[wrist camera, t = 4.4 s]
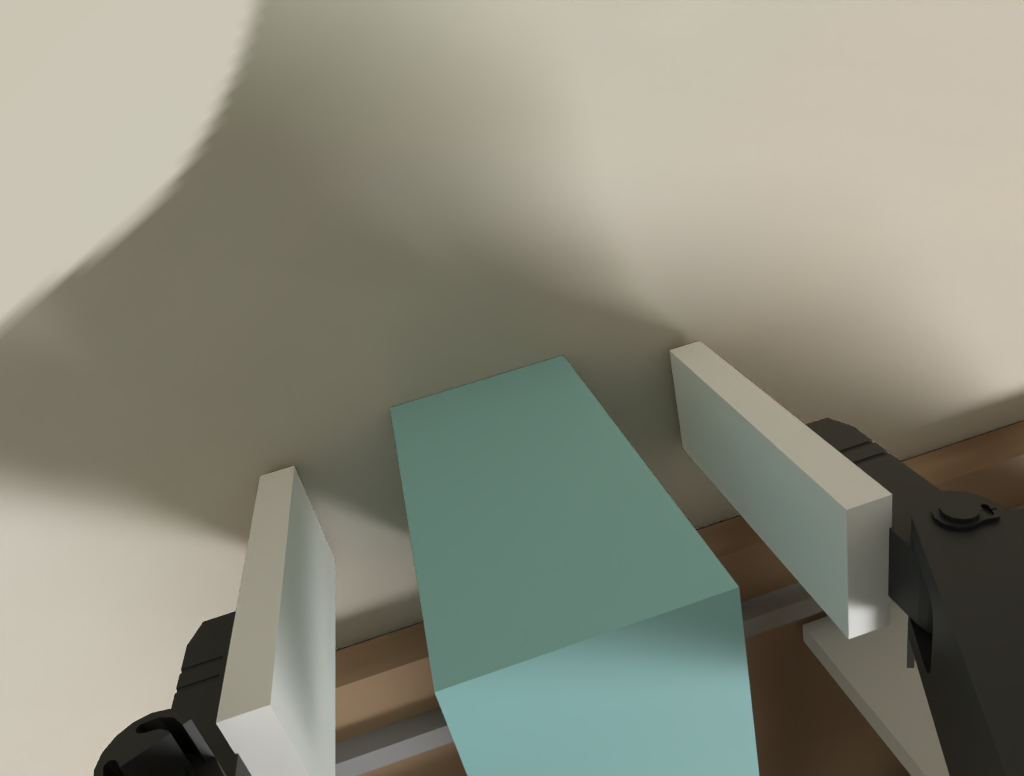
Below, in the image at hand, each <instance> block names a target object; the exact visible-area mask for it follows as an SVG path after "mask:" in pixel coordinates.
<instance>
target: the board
mask: <svg viewBox="0 0 1024 776" xmlns="http://www.w3.org/2000/svg"><path fill="white" fill-rule="evenodd" d="M902 463H904V464H905V465H906V466H908V467H909V468H911V469H912V470H913V471H915V472H916V473H917V474H919V475H920V476H922V477H923V478H924V479H926V480H927V481H928V482H930V483H931V484H933V485H934V486H935V487H937V488H938V489H939V490H941V491H947V490H949V491H964V492H969V493H973V494H976V495H980V496H983V497H985V498H987V499H989V500H991V501H993V502H994V503H996V504H998V505H999V506H1000V507H1001V508H1002V509H1003V510H1017V509H1024V421H1022V422H1019V423H1016V424H1013V425H1010V426H1007V427H1004V428H1001V429H998V430H995V431H992V432H989V433H986V434H983V435H980V436H977V437H974V438H971V439H968V440H965V441H962V442H959V443H956V444H953V445H950V446H947V447H944V448H941V449H938V450H935V451H932V452H929V453H926V454H923V455H920V456H917V457H914V458H911V459H908V460H905V461H902ZM696 531H697V532H698V534H699V535H700V536H701V537H702V539H703V540H704V541H705V543H706V544H707V545H708V547H709V548H710V549H711V551H712V552H713V553H714V555H715V556H716V557H717V559H718V560H719V561H720V563H721V564H722V565H723V566H724V568H725V569H726V570H727V572H728V573H729V574H730V576H731V577H732V578H733V580H734V581H735V582H736V584H737V585H738V586H739V591H740V600H741V610H742V619H743V628H744V637H745V647H746V656H747V665H748V675H749V684H750V693H751V702H752V712H753V721H754V730H755V740H756V749H757V758H758V767H759V776H911V775H910V774H909V772H908V771H907V770H906V769H905V767H904V766H903V765H902V764H901V762H900V761H899V760H898V759H897V757H896V756H895V755H894V754H893V752H892V751H891V750H890V749H889V747H888V746H887V745H886V744H885V742H884V741H883V740H882V739H881V737H880V736H879V735H878V734H877V732H876V731H875V730H874V729H873V727H872V726H871V725H870V724H869V722H868V721H867V720H866V719H865V717H864V716H863V715H862V714H861V712H860V711H859V710H858V709H857V707H856V706H855V705H854V704H853V702H852V701H851V700H850V699H849V697H848V696H847V695H846V694H845V692H844V691H843V690H842V689H841V687H840V686H839V685H838V684H837V682H836V681H835V680H834V678H833V677H832V676H831V675H830V673H829V672H828V671H827V670H826V668H825V667H824V666H823V665H822V663H821V662H820V661H819V660H818V658H817V657H816V656H815V655H814V653H813V652H812V651H811V650H810V648H809V647H808V646H807V645H806V643H805V642H804V640H803V625H804V624H807V623H810V622H812V621H815V620H818V619H821V618H824V617H826V616H828V615H827V614H826V613H825V611H824V610H823V609H822V608H821V607H820V606H819V605H818V603H817V602H816V601H815V600H814V599H813V598H812V596H811V595H810V594H809V593H808V592H807V591H806V590H805V588H804V587H803V586H802V585H801V584H800V583H799V582H798V580H797V579H796V578H795V577H794V576H793V575H792V573H791V572H790V571H789V570H788V569H787V568H786V567H785V565H784V564H783V563H782V562H781V561H780V560H779V559H778V557H777V556H776V555H775V554H774V553H773V552H772V550H771V549H770V548H769V547H768V546H767V545H766V544H765V542H764V541H763V540H762V539H761V538H760V537H759V536H758V534H757V533H756V532H755V531H754V530H753V529H752V527H751V526H750V525H749V524H748V523H747V522H746V521H745V519H744V518H743V517H742V516H738V517H735V518H732V519H729V520H726V521H723V522H720V523H717V524H714V525H711V526H708V527H705V528H702V529H699V530H696ZM335 776H467V773H466V771H465V768H464V766H463V763H462V761H461V758H460V756H459V753H458V751H457V748H456V745H455V743H454V740H453V738H452V735H451V733H450V730H449V728H448V725H447V723H446V720H445V718H444V715H443V712H442V710H441V707H440V705H439V702H438V700H437V697H436V695H435V692H434V685H433V679H432V673H431V666H430V660H429V654H428V647H427V641H426V634H425V628H424V622H422V623H419V624H416V625H413V626H410V627H407V628H404V629H401V630H398V631H395V632H392V633H389V634H386V635H383V636H380V637H377V638H374V639H371V640H368V641H365V642H362V643H359V644H356V645H353V646H350V647H347V648H344V649H341V650H338V651H335Z"/></svg>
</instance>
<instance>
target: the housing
mask: <svg viewBox="0 0 1024 776" xmlns="http://www.w3.org/2000/svg"><path fill="white" fill-rule="evenodd" d="M907 635H908V615H907V614H906V613H905V612H904V611H903V610H902V609H901V608H900V607H899V606H898V605H897V604H896V603H895V602H894V601H893V600H892V599H891V598H890V625H888V626H885V627H882V628H879V629H877V630H874V631H871V632H868V633H865V634H862V635H860V636H857V637H854V638H851V639H848V638H847V637H846V636H845V634H844V633H843V632H842V631H841V630H840V629H839V628H838V626H837V625H836V624H835V623H834V622H833V621H832V619H831V618H830V617H829V616H826V617H824V618H821V619H818V620H815V621H812V622H810V623H807V624H804V625H803V640H804V642H805V643H806V645H807V646H808V647H809V648H810V650H811V651H812V652H813V653H814V655H815V656H816V657H817V658H818V660H819V661H820V662H821V663H822V665H823V666H824V667H825V668H826V670H827V671H828V672H829V673H830V675H831V676H832V677H833V678H834V680H835V681H836V682H837V684H838V685H839V686H840V687H841V689H842V690H843V691H844V692H845V694H846V695H847V696H848V697H849V699H850V700H851V701H852V702H853V704H854V705H855V706H856V707H857V709H858V710H859V711H860V712H861V714H862V715H863V716H864V717H865V719H866V720H867V721H868V722H869V724H870V725H871V726H872V727H873V729H874V730H875V731H876V732H877V734H878V735H879V736H880V737H881V739H882V740H883V741H884V742H885V744H886V745H887V746H888V747H889V749H890V750H891V751H892V752H893V754H894V755H895V756H896V757H897V759H898V760H899V761H900V762H901V764H902V765H903V766H904V767H905V769H906V770H907V771H908V772H909V774H910V775H911V776H949V772H948V769H947V766H946V762H945V759H944V755H943V752H942V749H941V745H940V742H939V739H938V735H937V732H936V728H935V725H934V722H933V718H932V715H931V712H930V708H929V705H928V701H927V698H926V695H925V691H924V688H923V685H922V681H921V678H920V674H919V671H918V668H917V664H916V661H915V664H914V668H907Z"/></svg>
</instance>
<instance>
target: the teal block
mask: <svg viewBox="0 0 1024 776" xmlns="http://www.w3.org/2000/svg"><path fill="white" fill-rule="evenodd" d="M390 411H391V418H392V424H393V430H394V437H395V443H396V449H397V456H398V462H399V469H400V475H401V481H402V488H403V494H404V500H405V507H406V513H407V520H408V526H409V532H410V539H411V545H412V552H413V558H414V564H415V571H416V577H417V583H418V590H419V596H420V603H421V609H422V615H423V622H424V628H425V634H426V641H427V647H428V654H429V660H430V666H431V673H432V679H433V685H434V692H435V695H436V697H437V700H438V702H439V705H440V707H441V710H442V712H443V715H444V718H445V720H446V723H447V725H448V728H449V730H450V733H451V735H452V738H453V740H454V743H455V745H456V748H457V751H458V753H459V756H460V758H461V761H462V763H463V766H464V768H465V771H466V773H467V776H759V767H758V758H757V749H756V740H755V730H754V721H753V712H752V702H751V693H750V684H749V675H748V665H747V656H746V647H745V637H744V628H743V619H742V610H741V600H740V591H739V586H738V585H737V584H736V582H735V581H734V580H733V578H732V577H731V576H730V574H729V573H728V572H727V570H726V569H725V568H724V566H723V565H722V564H721V563H720V561H719V560H718V559H717V557H716V556H715V555H714V553H713V552H712V551H711V549H710V548H709V547H708V545H707V544H706V543H705V541H704V540H703V539H702V537H701V536H700V535H699V534H698V532H697V531H696V530H695V528H694V527H693V526H692V524H691V523H690V522H689V520H688V519H687V518H686V516H685V515H684V514H683V512H682V511H681V510H680V508H679V507H678V506H677V505H676V503H675V502H674V501H673V499H672V498H671V497H670V495H669V494H668V493H667V491H666V490H665V489H664V487H663V486H662V485H661V483H660V482H659V481H658V479H657V478H656V477H655V476H654V474H653V473H652V472H651V470H650V469H649V468H648V466H647V465H646V464H645V462H644V461H643V460H642V458H641V457H640V456H639V454H638V453H637V452H636V450H635V449H634V448H633V447H632V445H631V444H630V443H629V441H628V440H627V439H626V437H625V436H624V435H623V433H622V432H621V431H620V429H619V428H618V427H617V425H616V424H615V423H614V421H613V420H612V419H611V418H610V416H609V415H608V414H607V412H606V411H605V410H604V408H603V407H602V406H601V404H600V403H599V402H598V400H597V399H596V398H595V396H594V395H593V394H592V392H591V391H590V390H589V389H588V387H587V386H586V385H585V383H584V382H583V381H582V379H581V378H580V377H579V375H578V374H577V373H576V371H575V370H574V369H573V367H572V366H571V365H570V363H569V362H568V361H567V360H566V358H565V357H564V356H563V355H562V356H559V357H555V358H552V359H549V360H545V361H542V362H539V363H536V364H532V365H529V366H526V367H522V368H519V369H516V370H513V371H509V372H506V373H503V374H499V375H496V376H493V377H490V378H486V379H483V380H480V381H476V382H473V383H470V384H467V385H463V386H460V387H457V388H454V389H450V390H447V391H444V392H440V393H437V394H434V395H431V396H427V397H424V398H421V399H417V400H414V401H411V402H408V403H404V404H401V405H398V406H394V407H391V408H390Z"/></svg>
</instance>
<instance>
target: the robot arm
mask: <svg viewBox="0 0 1024 776" xmlns="http://www.w3.org/2000/svg"><path fill="white" fill-rule="evenodd" d="M669 351H670V359H671V366H672V373H673V380H674V388H675V395H676V402H677V409H678V416H679V424H680V431H681V438H682V445H683V449H684V450H685V452H686V453H687V454H688V455H689V456H690V457H691V458H692V460H693V461H694V462H695V463H696V464H697V465H698V467H699V468H700V469H701V470H702V471H703V472H704V473H705V475H706V476H707V477H708V478H709V479H710V480H711V481H712V483H713V484H714V485H715V486H716V487H717V488H718V490H719V491H720V492H721V493H722V494H723V495H724V496H725V498H726V499H727V500H728V501H729V502H730V503H731V504H732V506H733V507H734V508H735V509H736V510H737V511H738V513H739V514H740V515H741V516H742V517H743V518H744V519H745V521H746V522H747V523H748V524H749V525H750V526H751V527H752V529H753V530H754V531H755V532H756V533H757V534H758V536H759V537H760V538H761V539H762V540H763V541H764V542H765V544H766V545H767V546H768V547H769V548H770V549H771V550H772V552H773V553H774V554H775V555H776V556H777V557H778V559H779V560H780V561H781V562H782V563H783V564H784V565H785V567H786V568H787V569H788V570H789V571H790V572H791V573H792V575H793V576H794V577H795V578H796V579H797V580H798V582H799V583H800V584H801V585H802V586H803V587H804V588H805V590H806V591H807V592H808V593H809V594H810V595H811V596H812V598H813V599H814V600H815V601H816V602H817V603H818V605H819V606H820V607H821V608H822V609H823V610H824V611H825V613H826V614H827V615H828V616H829V617H830V618H831V619H832V621H833V622H834V623H835V624H836V625H837V626H838V628H839V629H840V630H841V631H842V632H843V633H844V634H845V636H846V637H847V638H848V639H851V638H854V637H857V636H860V635H862V634H865V633H868V632H871V631H874V630H877V629H879V628H882V627H885V626H888V625H890V598H891V599H892V600H893V601H894V602H895V603H896V604H897V605H898V606H899V607H900V608H901V609H902V610H903V611H904V612H905V613H906V614H907V615H908V635H907V668H914V664H915V661H916V664H917V668H918V671H919V674H920V678H921V681H922V685H923V688H924V691H925V695H926V698H927V701H928V705H929V708H930V712H931V715H932V718H933V722H934V725H935V728H936V732H937V735H938V739H939V742H940V745H941V749H942V752H943V755H944V759H945V762H946V766H947V769H948V772H949V776H1024V509H1017V510H1003V509H1002V508H1001V507H1000V506H999V505H998V504H996V503H994V502H993V501H991V500H989V499H987V498H985V497H983V496H980V495H976V494H973V493H969V492H964V491H949V490H947V491H941V490H939V489H938V488H937V487H935V486H934V485H933V484H931V483H930V482H928V481H927V480H926V479H924V478H923V477H922V476H920V475H919V474H917V473H916V472H915V471H913V470H912V469H911V468H909V467H908V466H906V465H905V464H904V463H902V462H901V461H900V460H898V459H897V458H895V457H894V456H893V455H891V454H887V451H886V450H884V449H883V448H882V447H880V446H879V445H878V444H876V443H872V440H871V439H869V438H868V437H867V436H865V435H864V434H862V433H861V432H860V431H858V430H857V429H856V428H854V427H853V426H850V425H847V424H844V423H841V422H838V421H835V420H832V419H829V418H825V419H822V420H819V421H816V422H812V423H809V424H806V425H805V424H804V423H802V422H801V421H800V420H799V419H797V418H796V417H795V416H794V415H792V414H791V413H790V412H789V411H787V410H786V409H785V408H784V407H782V406H781V405H780V404H779V403H777V402H776V401H775V400H774V399H772V398H771V397H770V396H769V395H767V394H766V393H765V392H764V391H762V390H761V389H760V388H759V387H757V386H756V385H755V384H754V383H752V382H751V381H750V380H749V379H747V378H746V377H745V376H744V375H742V374H741V373H740V372H739V371H737V370H736V369H735V368H734V367H732V366H731V365H730V364H728V363H727V362H726V361H725V360H723V359H722V358H721V357H720V356H718V355H717V354H716V353H715V352H713V351H712V350H711V349H710V348H708V347H707V346H706V345H705V344H703V343H702V342H701V341H698V342H694V343H691V344H688V345H685V346H681V347H678V348H675V349H672V350H669ZM181 670H182V673H181V674H180V676H179V680H178V684H177V688H176V689H177V693H175V696H174V700H173V704H172V708H171V709H167V710H163V711H158V712H154V713H151V714H149V715H147V716H145V717H143V718H141V719H139V720H137V721H135V722H133V723H132V724H131V725H130V726H128V727H127V728H126V729H125V730H123V731H122V732H121V733H120V734H118V735H117V736H116V737H115V738H114V739H113V741H112V742H111V743H110V744H109V745H108V747H107V748H106V749H105V750H104V751H103V753H102V754H101V756H100V759H99V761H98V763H97V765H96V767H95V769H94V776H335V558H334V556H333V554H332V551H331V549H330V547H329V545H328V542H327V540H326V538H325V535H324V533H323V531H322V528H321V526H320V524H319V521H318V519H317V517H316V515H315V512H314V510H313V508H312V505H311V503H310V501H309V498H308V496H307V494H306V492H305V489H304V487H303V485H302V482H301V480H300V478H299V475H298V473H297V471H296V468H295V466H291V467H288V468H285V469H281V470H278V471H275V472H272V473H268V474H265V475H262V476H260V479H259V484H258V490H257V496H256V501H255V507H254V513H253V518H252V524H251V529H250V535H249V541H248V546H247V552H246V557H245V563H244V569H243V574H242V580H241V585H240V591H239V597H238V602H237V608H236V611H235V612H232V613H229V614H226V615H223V616H220V617H217V618H214V619H210V620H207V621H204V622H203V623H202V625H201V626H200V627H199V629H198V630H197V632H196V633H195V635H194V636H193V638H192V639H191V641H190V642H189V644H188V645H187V648H186V652H185V656H184V660H183V664H182V668H181Z"/></svg>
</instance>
